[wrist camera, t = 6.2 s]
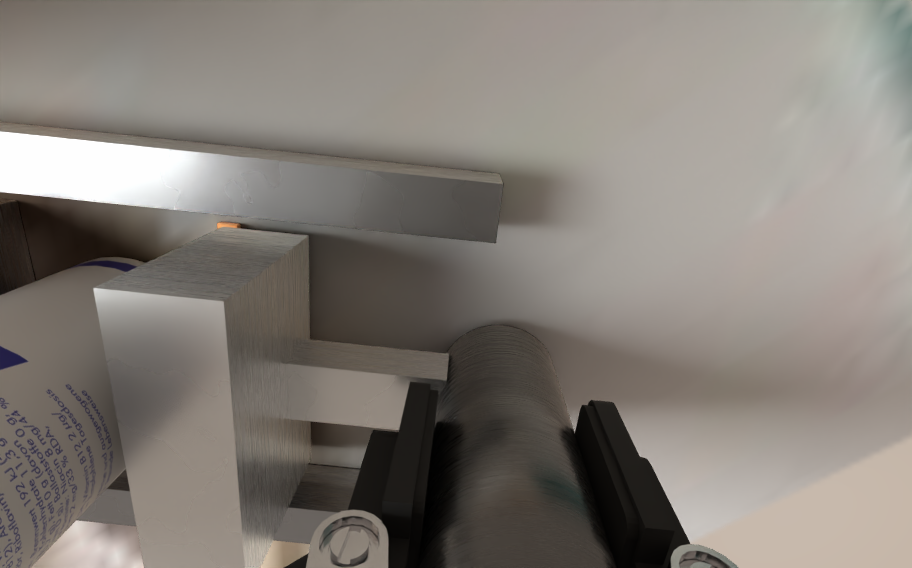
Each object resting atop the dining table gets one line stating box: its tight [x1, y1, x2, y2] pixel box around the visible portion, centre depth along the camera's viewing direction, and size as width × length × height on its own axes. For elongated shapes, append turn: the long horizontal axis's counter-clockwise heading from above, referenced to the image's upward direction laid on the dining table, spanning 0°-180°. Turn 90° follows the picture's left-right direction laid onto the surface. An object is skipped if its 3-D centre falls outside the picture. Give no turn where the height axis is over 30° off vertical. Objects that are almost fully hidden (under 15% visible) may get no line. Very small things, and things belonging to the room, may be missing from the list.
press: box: [0, 122, 503, 544], centre depth 13 cm, size 12×17×6 cm
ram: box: [93, 227, 617, 568], centre depth 10 cm, size 8×10×10 cm
